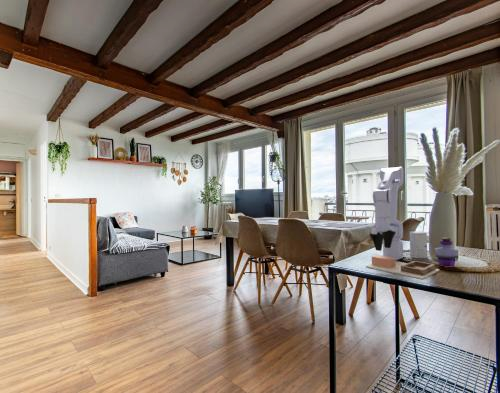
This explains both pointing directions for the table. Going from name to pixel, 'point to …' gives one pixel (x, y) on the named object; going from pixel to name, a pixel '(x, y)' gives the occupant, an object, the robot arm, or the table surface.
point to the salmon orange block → (383, 261)
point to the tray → (418, 267)
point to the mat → (398, 271)
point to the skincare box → (418, 244)
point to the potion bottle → (446, 253)
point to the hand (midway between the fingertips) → (383, 249)
